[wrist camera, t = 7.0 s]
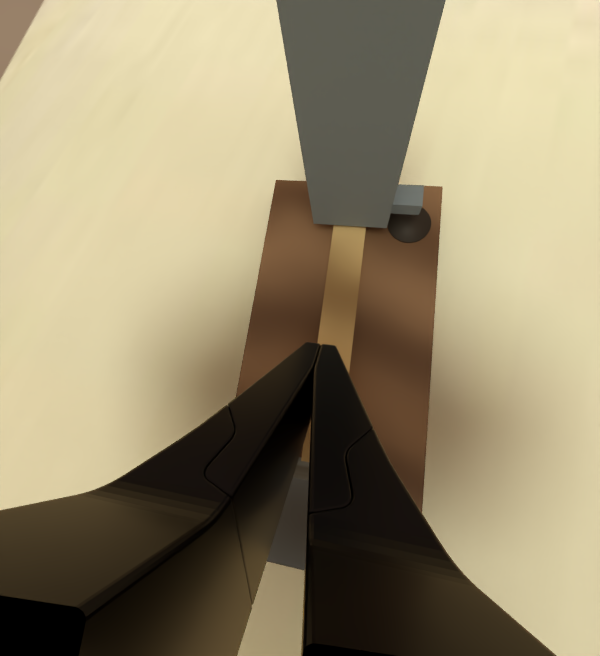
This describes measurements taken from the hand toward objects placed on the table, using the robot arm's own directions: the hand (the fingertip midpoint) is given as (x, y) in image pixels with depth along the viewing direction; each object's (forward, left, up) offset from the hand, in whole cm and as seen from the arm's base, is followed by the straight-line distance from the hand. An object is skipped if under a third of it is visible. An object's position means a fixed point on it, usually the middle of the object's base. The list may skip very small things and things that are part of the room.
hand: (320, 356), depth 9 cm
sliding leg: (+8, +5, -8) cm, 12 cm away
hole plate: (+2, +1, -9) cm, 9 cm away
